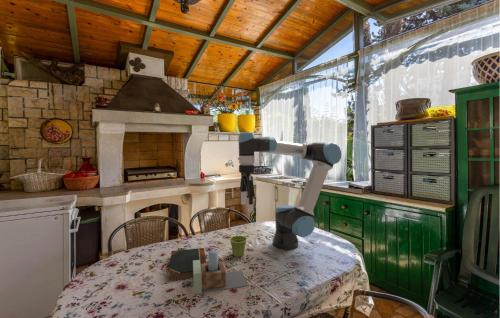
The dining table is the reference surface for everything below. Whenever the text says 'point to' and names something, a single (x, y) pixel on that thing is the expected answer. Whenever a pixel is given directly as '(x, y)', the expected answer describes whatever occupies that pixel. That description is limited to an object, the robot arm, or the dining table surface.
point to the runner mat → (231, 281)
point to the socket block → (213, 276)
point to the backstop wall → (197, 276)
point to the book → (184, 262)
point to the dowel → (212, 260)
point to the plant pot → (238, 245)
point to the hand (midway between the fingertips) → (246, 207)
